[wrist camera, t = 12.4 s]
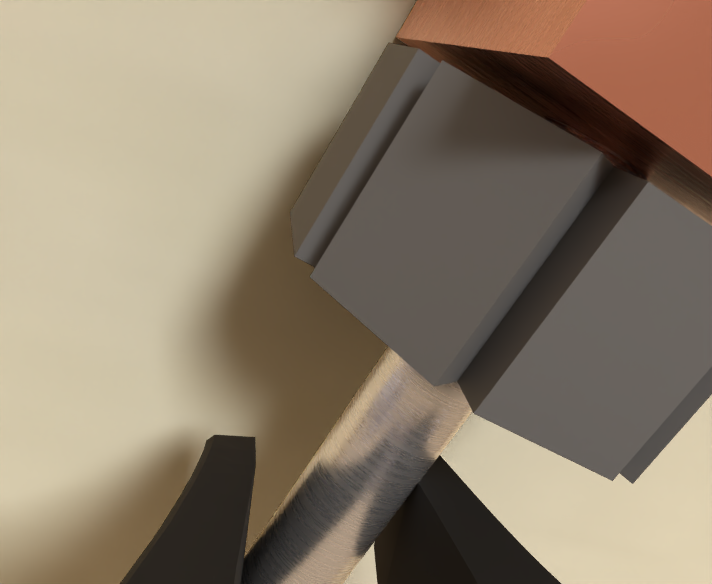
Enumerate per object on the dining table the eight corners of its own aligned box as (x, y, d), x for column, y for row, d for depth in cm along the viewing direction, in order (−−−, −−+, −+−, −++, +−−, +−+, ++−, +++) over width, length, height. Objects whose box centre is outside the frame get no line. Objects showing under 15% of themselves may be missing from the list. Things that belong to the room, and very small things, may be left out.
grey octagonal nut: (286, 180, 10) (302, 330, 5) (367, 38, 9) (471, 58, 4) (541, 324, 11) (733, 539, 7) (626, 210, 11) (906, 361, 6)
